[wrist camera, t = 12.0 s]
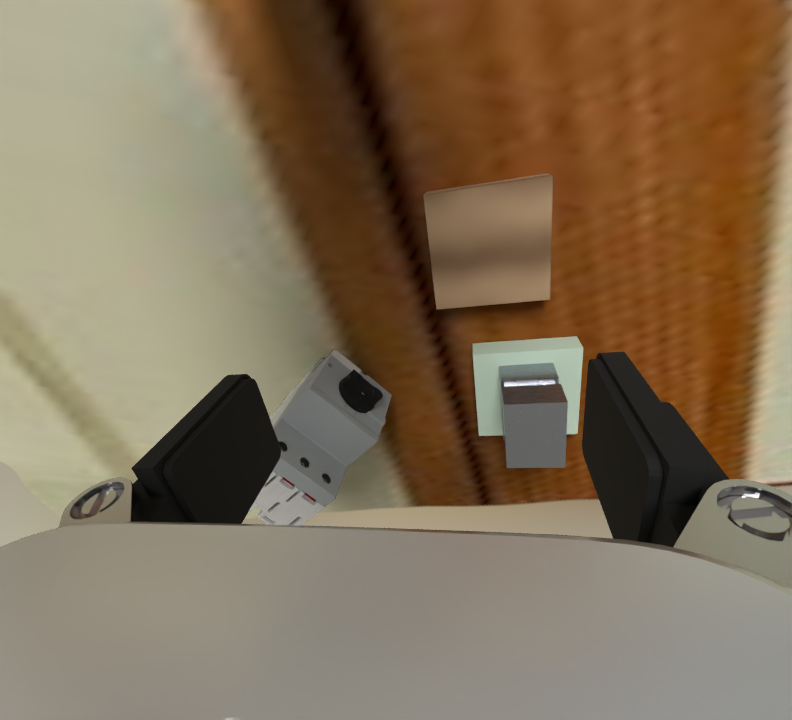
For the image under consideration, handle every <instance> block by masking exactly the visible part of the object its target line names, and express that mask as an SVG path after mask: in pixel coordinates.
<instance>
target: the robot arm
mask: <svg viewBox="0 0 792 720" xmlns="http://www.w3.org/2000/svg"><path fill="white" fill-rule="evenodd" d="M582 449H583V455H584V458H585V461H586V464H587V467H588V469H589V472H590V475H591V478H592V480H593V483H594V486H595V489H596V492H597V494H598V497H599V500H600V502H601V505H602V508H603V511H604V514H605V516H606V519H607V522H608V525H609V528H610V530H611V533H612V536H613V539H610V538H596V537H581V536H567V535H551V534H550V535H549V534H524V533H523V534H522V533H503V532H476V531H449V530H448V531H447V530H422V529H420V530H419V529H395V528H394V529H393V528H364V527H331V526H299V525H264V524H263V525H262V524H241V523H242V522H243V520H244V518H245V517H246V515H247V513H248V512H249V510H250V508H251V507H252V505H253V503H254V501H255V500H256V498H257V496H258V495H259V493H260V491H261V490H262V488H263V486H264V485H265V483H266V481H267V480H268V478H269V476H270V475H271V473H272V471H273V469H274V468H275V466H276V464H277V463H278V461H279V459H280V456H281V448H280V445H279V442H278V439H277V437H276V434H275V431H274V429H273V426H272V423H271V420H270V418H269V415H268V412H267V410H266V407H265V404H264V402H263V399H262V396H261V394H260V391H259V388H258V386H257V383H256V381H255V380H254V379H251V377H250V376H249V375H247V374H240V375H227V376H226V377H225V378H224V379H223V380H222V381H221V382H220V383H218V384H217V385H216V386H215V387H214V388H213V389H212V390H211V391H210V392H209V393H208V394H207V395H206V396H205V397H204V398H203V399H202V400H201V401H200V402H199V403H198V404H197V405H196V406H195V407H194V408H193V409H192V410H191V411H190V412H189V413H188V414H187V415H186V416H185V417H184V418H183V419H182V420H180V421H179V422H178V423H177V424H176V425H175V426H174V427H173V428H172V429H171V430H170V431H169V432H168V433H167V434H166V435H165V436H164V437H163V438H162V439H161V440H160V441H159V442H158V443H157V444H156V445H155V446H154V447H153V448H152V449H151V450H150V451H149V452H148V453H147V454H146V455H145V456H144V457H142V458H141V459H140V460H139V461H138V462H137V463H136V464H135V465H134V466H133V467H132V470H133V471H134V473H135V475H136V476H137V478H138V480H137V481H136V482H135V483H134V484H132V482H131V480H129V479H127V478H122V477H118V478H112V479H108V480H105V481H102V482H100V483H98V484H96V485H94V486H92V487H90V488H88V489H87V490H85V491H84V492H82V493H81V494H79V495H78V496H77V497H76V498H75V499H73V500H72V501H71V502H70V503H69V505H68V506H67V507H66V508H65V510H64V512H63V514H62V517H61V521H60V525H59V527H58V528H56V529H51V530H47V531H44V532H40V533H37V534H34V535H30V536H27V537H24V538H21V539H19V540H17V541H14V542H11V543H9V544H6V545H4V546H2V547H0V720H792V496H791V495H789V494H787V493H785V492H783V491H781V490H779V489H776V488H774V487H772V486H769V485H765V484H762V483H759V482H755V481H748V480H741V479H732V480H729V478H728V477H727V476H726V474H725V473H724V472H723V470H722V469H721V468H720V466H719V465H718V464H717V463H716V461H715V460H714V459H713V457H712V456H711V455H710V453H709V452H708V451H707V449H706V448H705V447H704V446H703V444H702V443H701V442H700V440H699V439H698V438H697V436H696V435H695V434H694V432H693V431H692V430H691V428H690V427H689V426H688V425H687V423H686V422H685V421H684V419H683V418H682V417H681V415H680V414H679V413H678V411H677V410H676V409H675V408H674V406H672V405H671V404H670V403H668V402H661V401H660V400H659V399H658V397H657V396H656V395H655V393H654V392H653V390H652V389H651V388H650V386H649V385H648V384H647V382H646V381H645V379H644V378H643V377H642V375H641V374H640V373H639V371H638V370H637V368H636V367H635V366H634V364H633V363H632V362H631V360H630V359H629V357H628V356H627V355H626V353H625V352H611V353H598V355H597V357H596V359H590V360H589V363H588V374H587V387H586V400H585V413H584V426H583V439H582Z"/></svg>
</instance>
